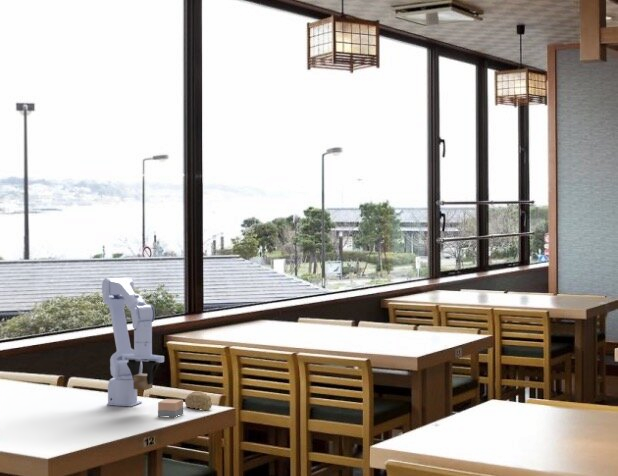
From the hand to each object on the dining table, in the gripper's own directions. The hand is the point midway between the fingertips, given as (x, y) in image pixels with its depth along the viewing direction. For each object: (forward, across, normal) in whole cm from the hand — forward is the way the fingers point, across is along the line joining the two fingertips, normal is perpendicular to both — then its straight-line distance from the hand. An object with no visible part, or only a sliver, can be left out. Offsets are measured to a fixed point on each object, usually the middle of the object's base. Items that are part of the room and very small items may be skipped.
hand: (143, 383), depth 311 cm
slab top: (+7, +11, -2) cm, 13 cm away
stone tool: (+10, +14, +12) cm, 21 cm away
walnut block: (+2, 0, 0) cm, 2 cm away
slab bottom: (+10, +11, -2) cm, 15 cm away
